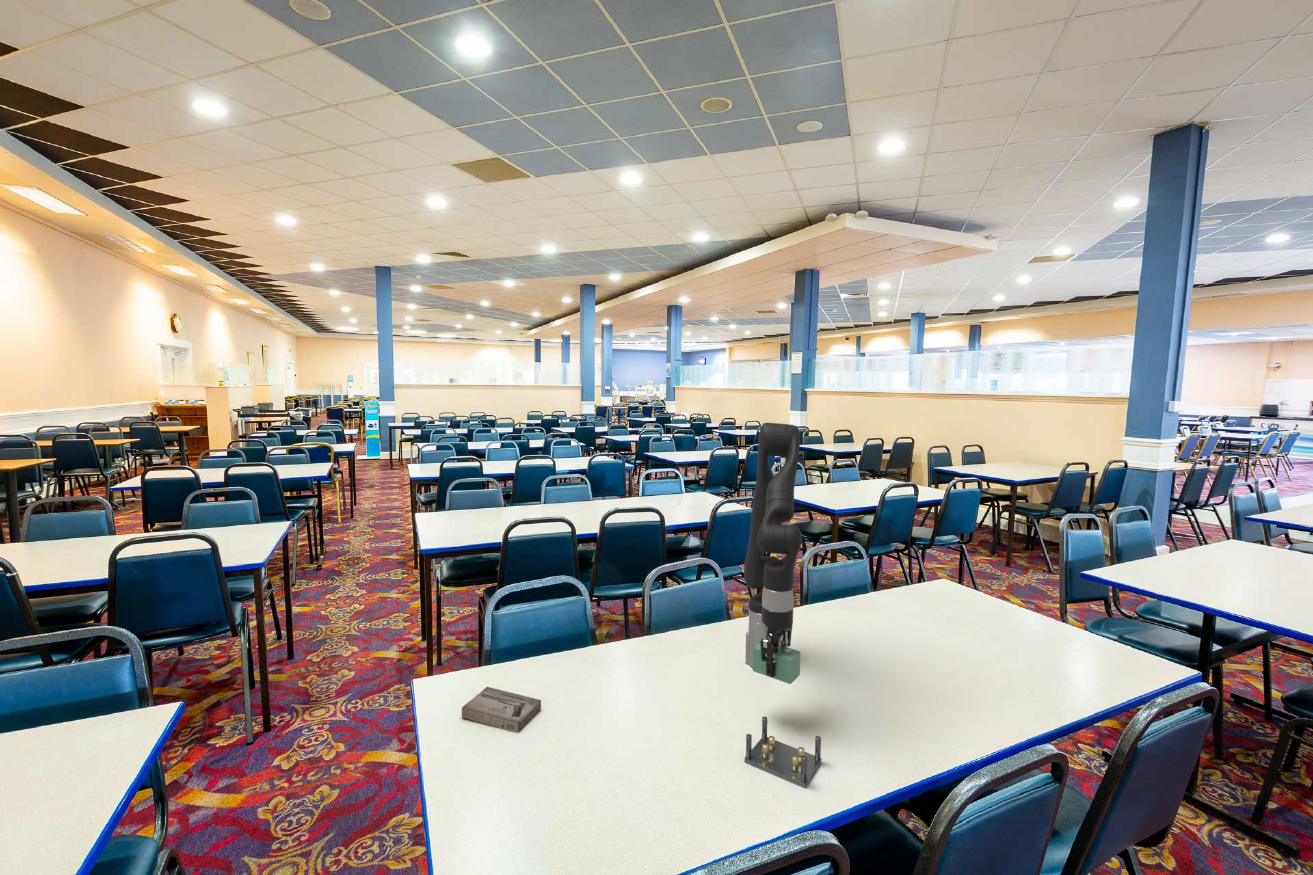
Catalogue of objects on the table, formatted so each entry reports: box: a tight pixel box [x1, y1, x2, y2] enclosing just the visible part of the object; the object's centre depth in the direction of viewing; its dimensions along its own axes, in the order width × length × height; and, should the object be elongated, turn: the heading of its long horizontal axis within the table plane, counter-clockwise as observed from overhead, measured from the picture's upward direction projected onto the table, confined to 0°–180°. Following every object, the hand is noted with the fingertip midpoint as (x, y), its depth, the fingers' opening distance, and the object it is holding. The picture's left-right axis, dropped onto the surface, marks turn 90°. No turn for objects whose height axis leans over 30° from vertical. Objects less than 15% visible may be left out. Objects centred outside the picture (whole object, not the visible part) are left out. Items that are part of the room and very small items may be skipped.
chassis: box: [744, 716, 823, 789], centre depth 123 cm, size 14×10×6 cm
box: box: [461, 686, 542, 733], centre depth 141 cm, size 11×17×3 cm, turn 70°
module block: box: [752, 643, 801, 685], centre depth 136 cm, size 10×6×7 cm, turn 53°
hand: (775, 670), depth 136 cm, fingers closed on module block, 5 cm apart
